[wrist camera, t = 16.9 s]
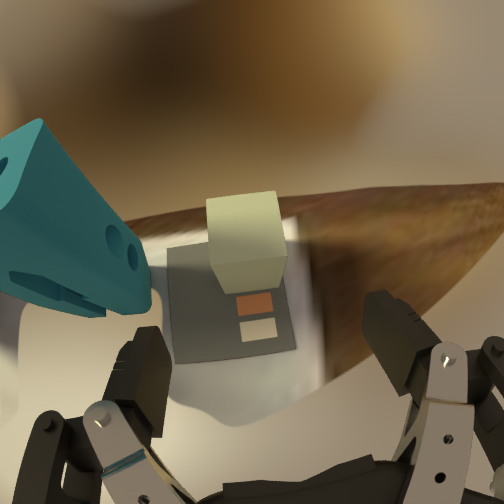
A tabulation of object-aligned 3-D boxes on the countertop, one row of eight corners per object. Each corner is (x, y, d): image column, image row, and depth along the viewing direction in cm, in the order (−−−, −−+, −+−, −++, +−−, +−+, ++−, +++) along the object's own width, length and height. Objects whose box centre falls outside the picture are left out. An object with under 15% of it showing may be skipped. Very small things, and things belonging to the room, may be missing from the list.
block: (165, 261, 27) (48, 112, 9) (168, 310, 25) (12, 205, 7) (72, 275, 27) (-60, 185, 8) (71, 318, 25) (-80, 253, 6)
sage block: (225, 294, 26) (210, 265, 18) (220, 244, 28) (206, 199, 20) (278, 287, 26) (287, 255, 18) (271, 238, 28) (275, 190, 20)
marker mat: (176, 363, 24) (175, 364, 23) (167, 249, 28) (166, 248, 28) (295, 349, 24) (295, 349, 24) (274, 233, 28) (274, 232, 28)
